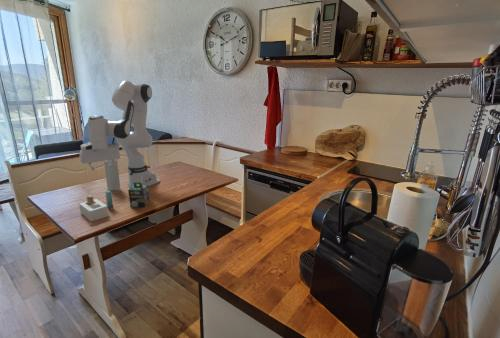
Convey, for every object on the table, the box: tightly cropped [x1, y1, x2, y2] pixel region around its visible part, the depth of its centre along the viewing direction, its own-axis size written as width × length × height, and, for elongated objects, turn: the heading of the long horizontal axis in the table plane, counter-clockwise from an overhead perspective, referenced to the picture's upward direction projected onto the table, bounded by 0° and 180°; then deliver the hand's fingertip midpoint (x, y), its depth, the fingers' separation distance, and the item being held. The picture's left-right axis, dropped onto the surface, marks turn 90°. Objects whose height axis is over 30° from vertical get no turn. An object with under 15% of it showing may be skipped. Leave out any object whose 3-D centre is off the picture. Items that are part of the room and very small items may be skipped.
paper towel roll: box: [103, 159, 121, 192], centre depth 181 cm, size 7×6×21 cm
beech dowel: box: [86, 194, 94, 205], centre depth 150 cm, size 3×3×10 cm
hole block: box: [78, 198, 110, 222], centre depth 148 cm, size 9×14×6 cm, turn 51°
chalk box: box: [127, 183, 151, 208], centre depth 161 cm, size 9×9×15 cm
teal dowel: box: [104, 190, 114, 209], centre depth 157 cm, size 3×3×10 cm
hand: (101, 168), depth 153 cm, fingers open, 8 cm apart
